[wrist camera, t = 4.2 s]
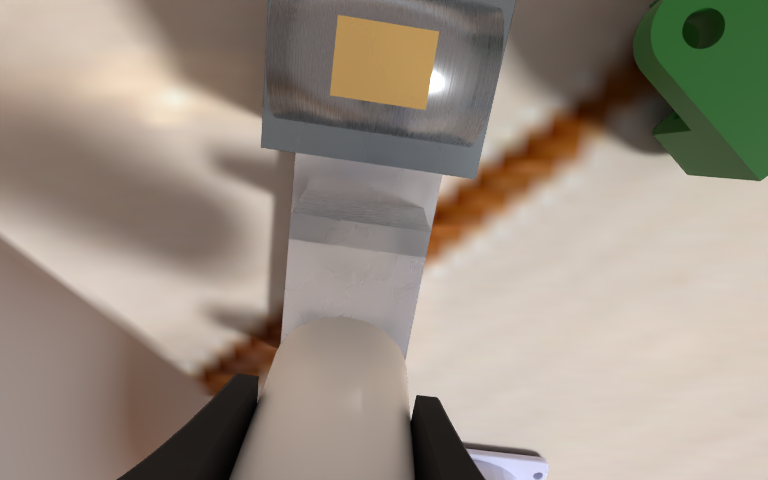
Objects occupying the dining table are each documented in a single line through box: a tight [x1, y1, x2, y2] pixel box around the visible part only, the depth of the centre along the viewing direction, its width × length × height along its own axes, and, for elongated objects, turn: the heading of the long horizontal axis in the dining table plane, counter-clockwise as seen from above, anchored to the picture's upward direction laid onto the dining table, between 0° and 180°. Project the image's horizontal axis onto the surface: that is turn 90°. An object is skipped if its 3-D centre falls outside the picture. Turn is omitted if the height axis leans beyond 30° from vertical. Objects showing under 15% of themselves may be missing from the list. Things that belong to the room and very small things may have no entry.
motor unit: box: [261, 0, 516, 359], centre depth 16 cm, size 17×7×7 cm, turn 172°
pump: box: [229, 317, 415, 480], centre depth 12 cm, size 4×4×7 cm
